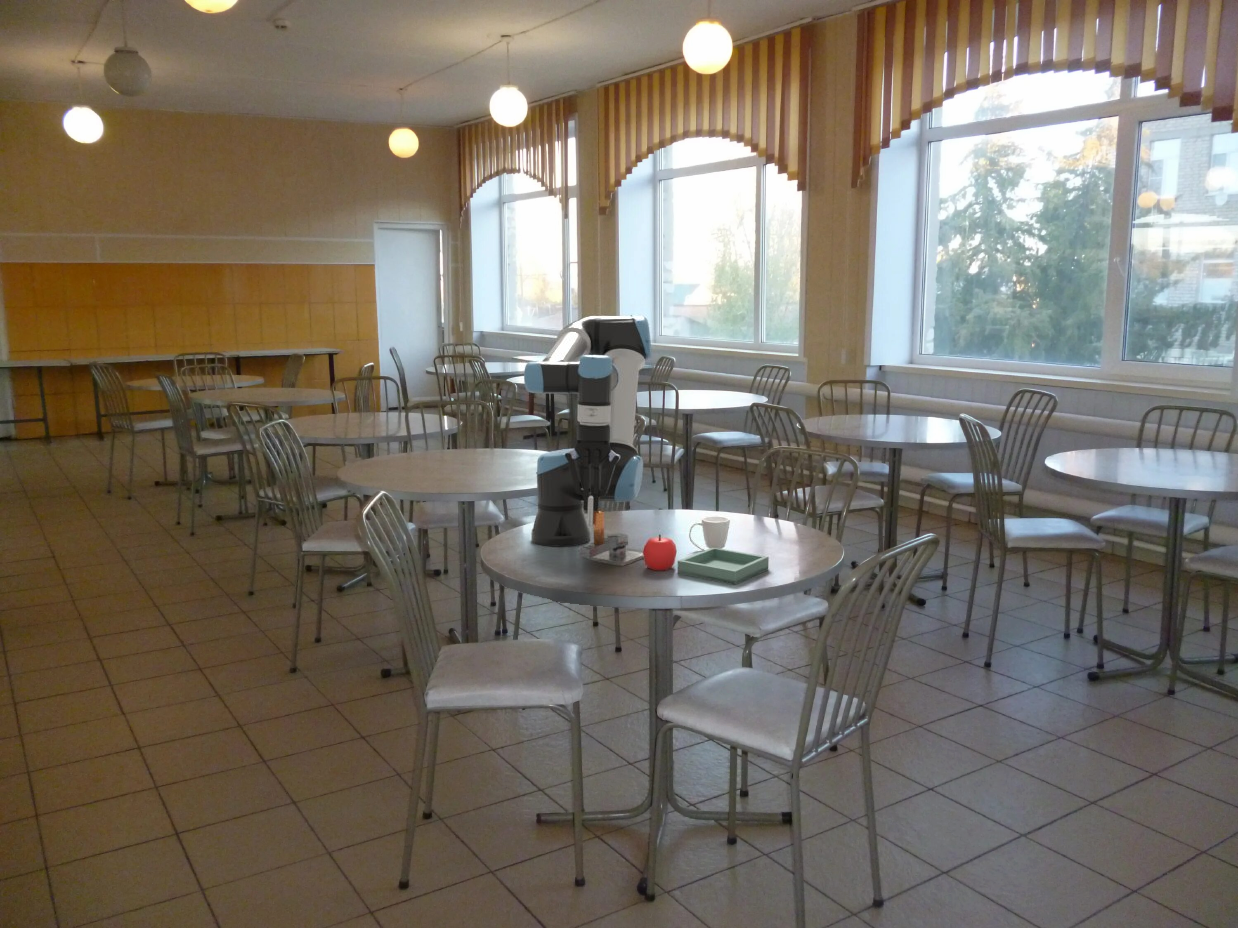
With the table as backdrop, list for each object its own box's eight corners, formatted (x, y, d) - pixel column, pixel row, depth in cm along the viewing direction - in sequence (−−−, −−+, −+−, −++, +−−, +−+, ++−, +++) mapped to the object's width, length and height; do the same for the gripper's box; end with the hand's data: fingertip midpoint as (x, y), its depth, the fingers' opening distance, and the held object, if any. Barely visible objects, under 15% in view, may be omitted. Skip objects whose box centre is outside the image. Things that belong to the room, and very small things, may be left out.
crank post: (588, 559, 240) (588, 546, 239) (613, 550, 248) (613, 538, 247) (621, 566, 234) (621, 552, 233) (646, 557, 242) (646, 544, 241)
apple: (654, 561, 238) (654, 528, 236) (683, 566, 233) (683, 533, 232) (635, 569, 231) (635, 535, 230) (665, 574, 227) (665, 540, 226)
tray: (677, 573, 228) (677, 560, 227) (712, 559, 239) (712, 547, 239) (734, 584, 219) (735, 571, 218) (768, 569, 230) (768, 556, 230)
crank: (614, 540, 244) (614, 502, 242) (631, 543, 241) (631, 504, 239) (575, 555, 230) (575, 515, 228) (593, 558, 227) (593, 517, 226)
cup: (729, 554, 244) (730, 522, 242) (688, 554, 244) (688, 521, 243) (729, 547, 250) (730, 516, 249) (689, 546, 251) (689, 515, 250)
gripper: (562, 423, 226) (560, 525, 230) (618, 426, 224) (615, 529, 228) (569, 420, 233) (567, 519, 237) (623, 422, 231) (620, 522, 235)
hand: (590, 524), depth 232 cm, fingers closed
